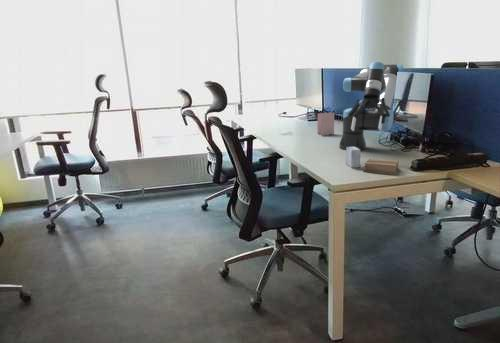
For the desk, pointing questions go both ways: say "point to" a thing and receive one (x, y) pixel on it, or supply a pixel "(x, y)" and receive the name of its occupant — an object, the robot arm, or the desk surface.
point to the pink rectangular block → (325, 123)
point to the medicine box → (353, 157)
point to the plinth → (381, 166)
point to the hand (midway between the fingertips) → (365, 129)
